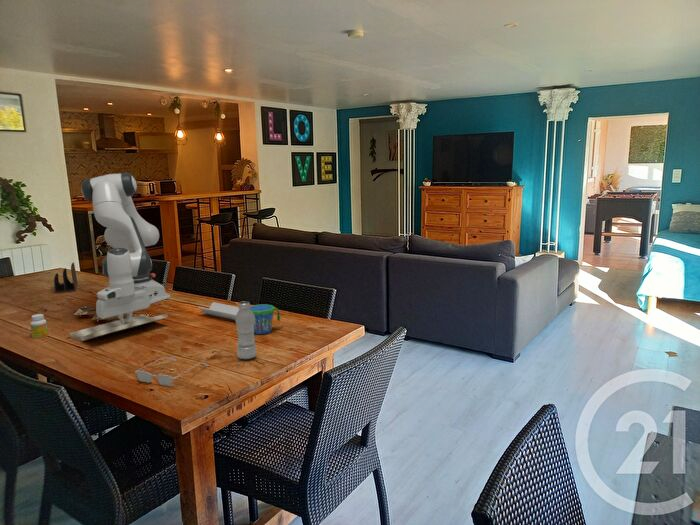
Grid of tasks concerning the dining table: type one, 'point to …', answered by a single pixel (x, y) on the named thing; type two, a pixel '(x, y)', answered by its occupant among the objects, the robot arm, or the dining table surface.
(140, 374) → the eyeglasses
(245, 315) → the plastic bottle
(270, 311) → the snack cup
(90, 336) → the loose plank
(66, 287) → the letter holder
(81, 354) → the dining table surface
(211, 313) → the z bracket
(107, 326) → the floor panel
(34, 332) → the supplement bottle
